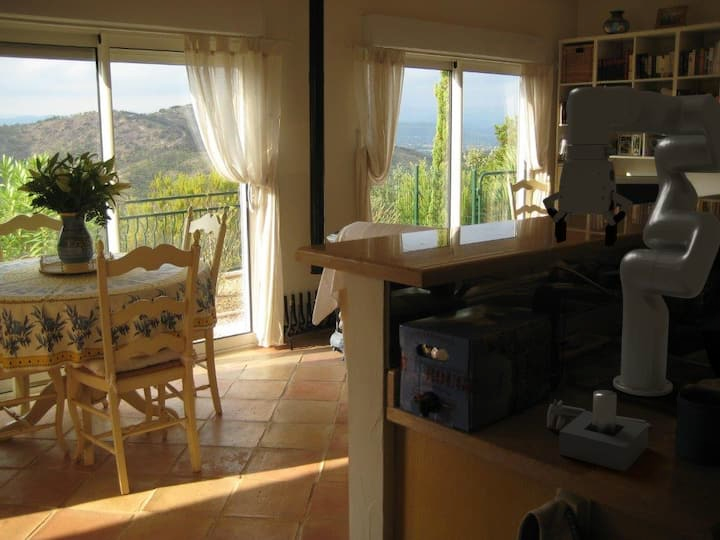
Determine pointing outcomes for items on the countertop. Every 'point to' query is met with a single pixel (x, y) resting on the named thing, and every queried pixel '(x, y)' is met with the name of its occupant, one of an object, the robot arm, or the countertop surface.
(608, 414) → the steel pin
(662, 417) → the countertop surface
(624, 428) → the bore block
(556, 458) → the countertop surface
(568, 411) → the caliper
